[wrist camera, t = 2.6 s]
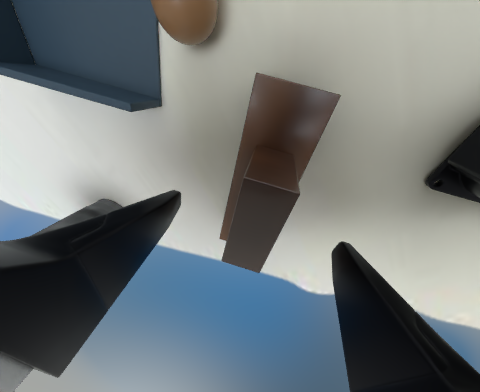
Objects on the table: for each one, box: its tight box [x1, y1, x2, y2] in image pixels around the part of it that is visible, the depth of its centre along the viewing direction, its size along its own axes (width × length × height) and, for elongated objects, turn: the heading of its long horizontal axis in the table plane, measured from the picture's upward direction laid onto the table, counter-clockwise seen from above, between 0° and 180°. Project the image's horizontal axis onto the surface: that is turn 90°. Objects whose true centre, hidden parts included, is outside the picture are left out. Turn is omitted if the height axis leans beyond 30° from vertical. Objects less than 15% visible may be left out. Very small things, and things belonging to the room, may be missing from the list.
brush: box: [220, 73, 341, 273], centre depth 12 cm, size 4×13×7 cm, turn 168°
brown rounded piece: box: [151, 0, 218, 45], centre depth 9 cm, size 3×3×3 cm
